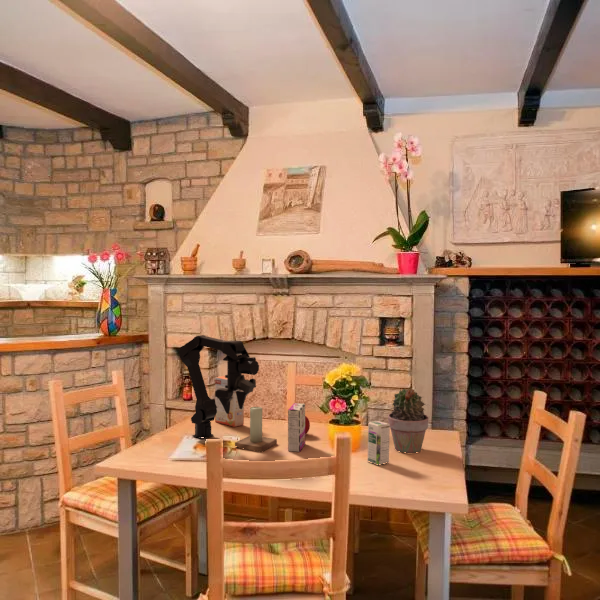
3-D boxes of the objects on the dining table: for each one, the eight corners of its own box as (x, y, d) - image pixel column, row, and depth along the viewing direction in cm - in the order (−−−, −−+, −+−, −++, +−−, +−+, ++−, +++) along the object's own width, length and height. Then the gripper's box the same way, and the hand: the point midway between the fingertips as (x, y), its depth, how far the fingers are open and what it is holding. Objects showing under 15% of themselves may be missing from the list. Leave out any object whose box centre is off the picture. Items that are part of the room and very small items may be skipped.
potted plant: (413, 440, 228) (414, 380, 227) (440, 454, 210) (442, 389, 209) (374, 444, 222) (375, 382, 221) (399, 459, 204) (400, 392, 203)
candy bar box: (293, 443, 223) (293, 402, 222) (305, 444, 222) (305, 403, 221) (287, 451, 212) (287, 409, 211) (299, 452, 211) (300, 409, 210)
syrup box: (366, 462, 200) (367, 422, 200) (378, 459, 204) (378, 420, 203) (378, 466, 196) (378, 425, 195) (389, 463, 199) (390, 423, 199)
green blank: (248, 442, 217) (248, 409, 216) (251, 438, 222) (251, 406, 221) (260, 442, 216) (261, 409, 216) (263, 439, 221) (263, 407, 220)
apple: (313, 434, 236) (314, 410, 236) (302, 439, 229) (302, 415, 228) (295, 430, 241) (295, 408, 241) (284, 435, 234) (284, 412, 233)
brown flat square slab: (235, 447, 216) (235, 442, 216) (251, 439, 227) (251, 435, 227) (261, 452, 211) (261, 447, 211) (276, 443, 222) (276, 439, 221)
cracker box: (244, 425, 250) (244, 379, 249) (234, 427, 245) (234, 380, 245) (224, 419, 259) (224, 375, 259) (214, 421, 255) (214, 376, 254)
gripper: (238, 377, 209) (238, 418, 209) (264, 370, 225) (263, 408, 226) (214, 375, 214) (214, 415, 215) (241, 368, 231) (241, 405, 231)
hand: (234, 411), depth 221 cm, fingers open, 9 cm apart
